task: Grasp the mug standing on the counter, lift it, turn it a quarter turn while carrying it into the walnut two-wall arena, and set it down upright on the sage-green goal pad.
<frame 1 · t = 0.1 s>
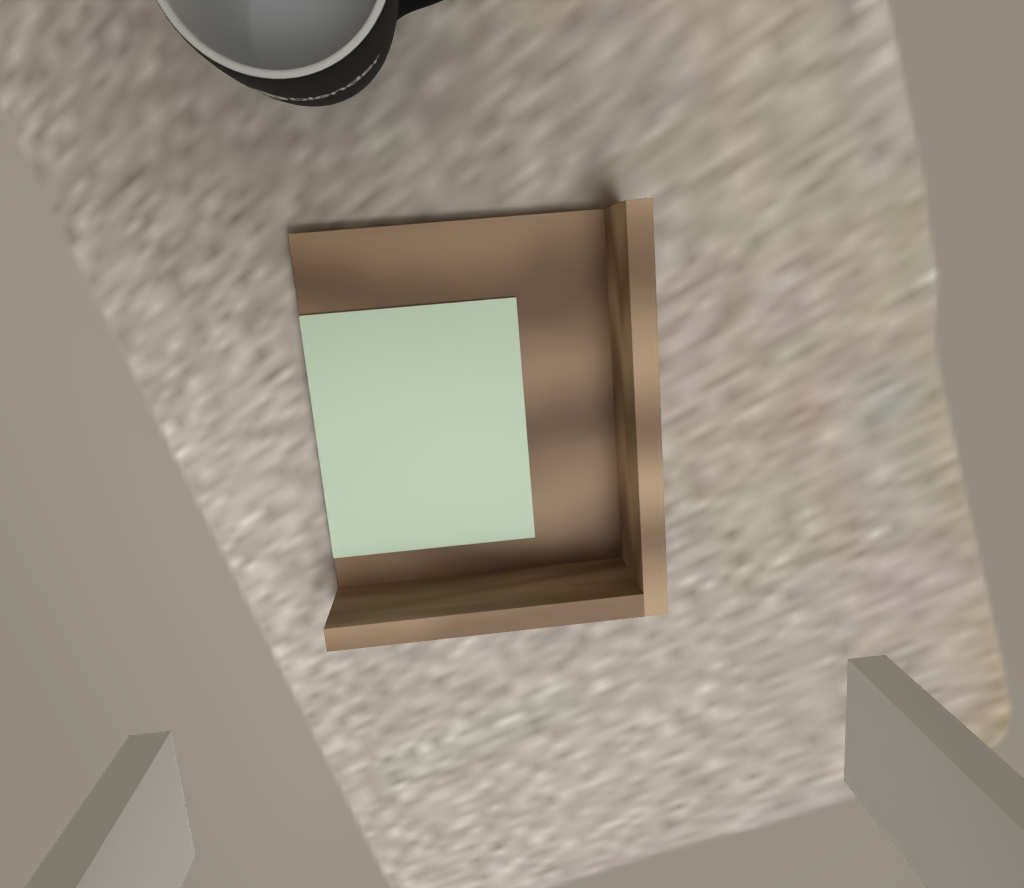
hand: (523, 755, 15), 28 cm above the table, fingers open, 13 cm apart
arena: (477, 412, 42), on the table
mug: (347, 25, 37), on the table
goal pad: (422, 430, 41), resting on arena
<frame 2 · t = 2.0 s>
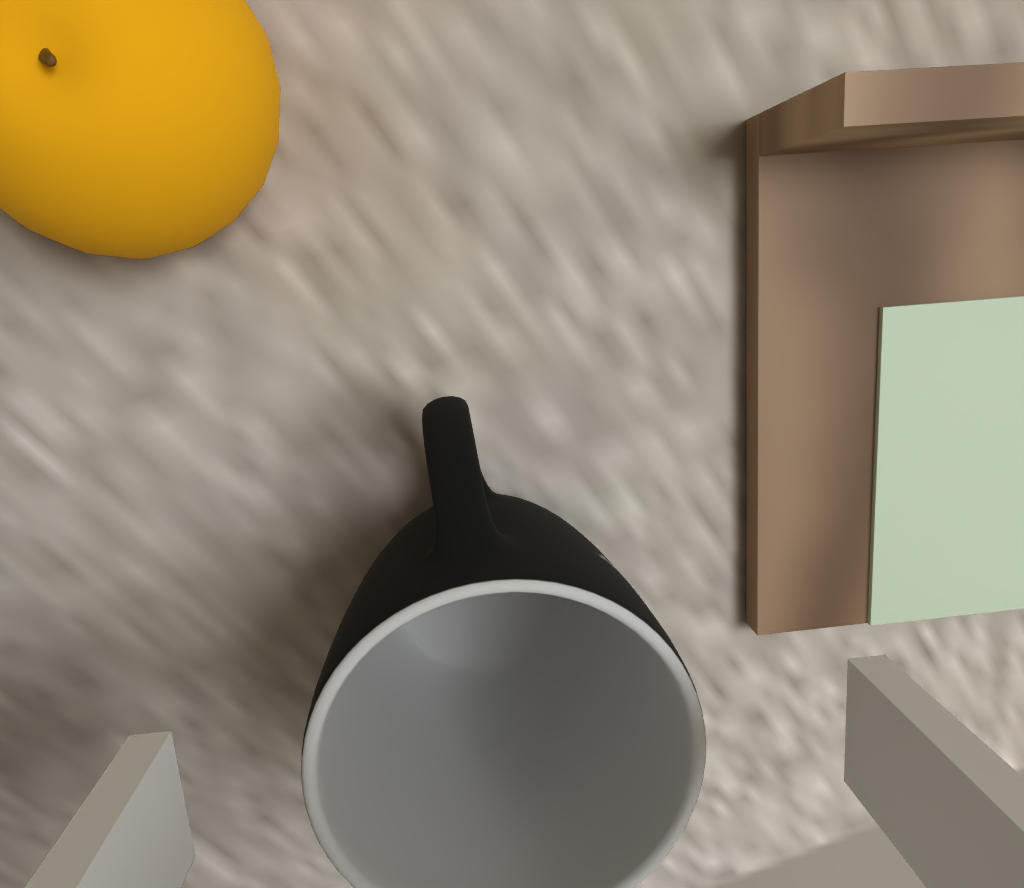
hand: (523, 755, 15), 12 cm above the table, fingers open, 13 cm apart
mug: (474, 541, 26), on the table
yellow orange fruit: (164, 119, 23), on the table
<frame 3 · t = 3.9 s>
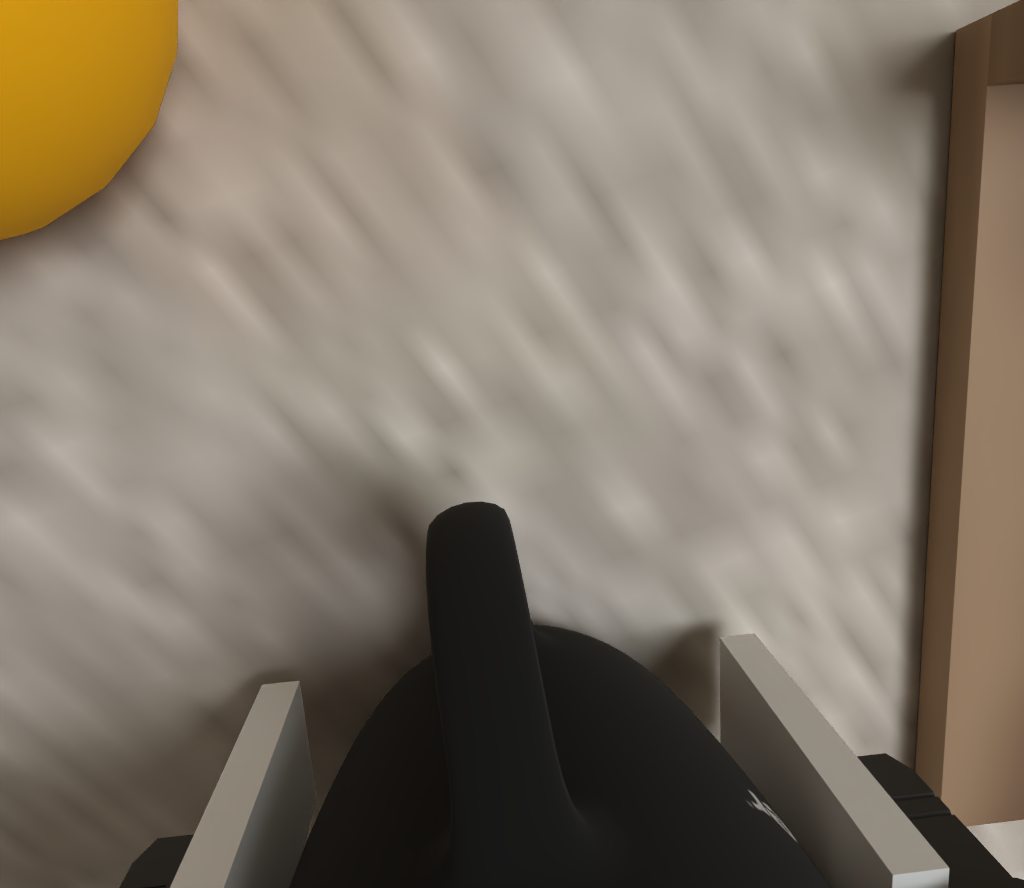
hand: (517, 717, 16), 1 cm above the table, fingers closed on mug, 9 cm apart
mug: (507, 687, 17), on the table, touching gripper
yellow orange fruit: (5, 26, 14), on the table
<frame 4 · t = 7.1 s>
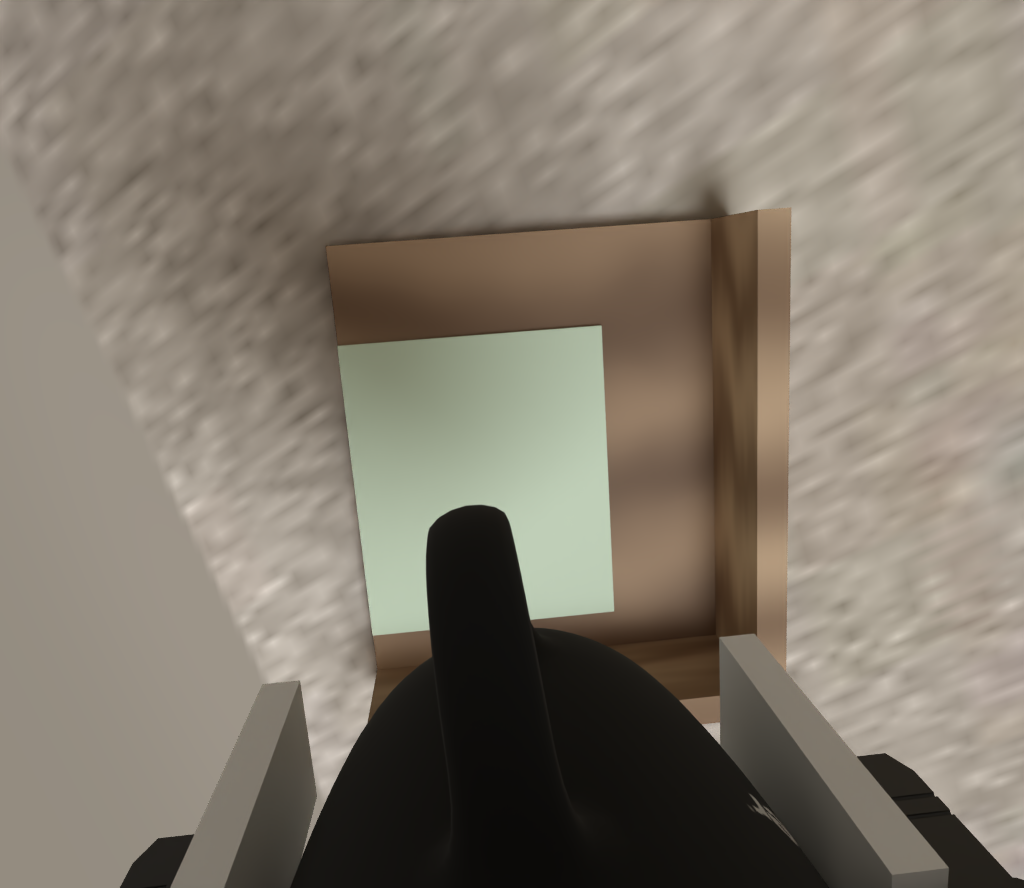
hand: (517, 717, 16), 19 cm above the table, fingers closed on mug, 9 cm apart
arena: (547, 462, 35), on the table
mug: (508, 690, 17), point 18 cm above the table, touching gripper
goal pad: (482, 484, 34), resting on arena
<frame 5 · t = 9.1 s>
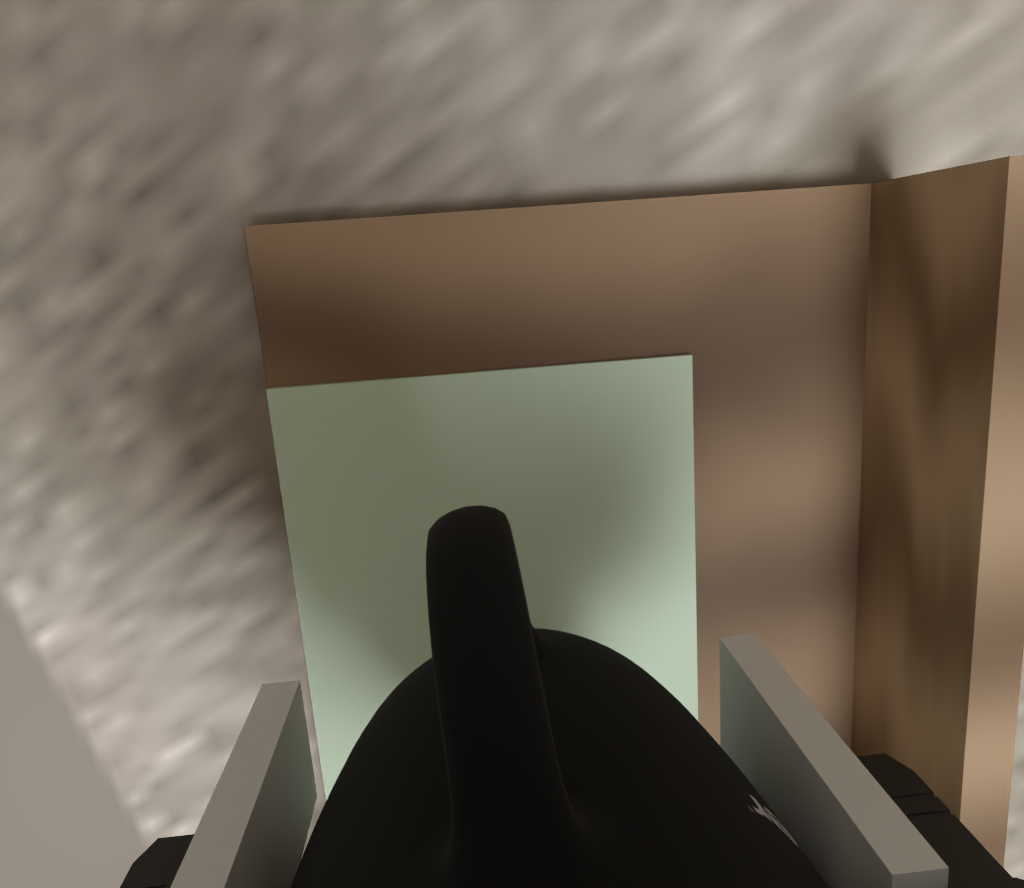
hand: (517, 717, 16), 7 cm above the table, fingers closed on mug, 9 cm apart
arena: (599, 561, 23), on the table
mug: (508, 690, 17), point 5 cm above the table, touching gripper
goal pad: (500, 601, 21), resting on arena
when the fingers open (4 cm above the table, at t = 10.7 s): mug drops 1 cm, resting on goal pad.
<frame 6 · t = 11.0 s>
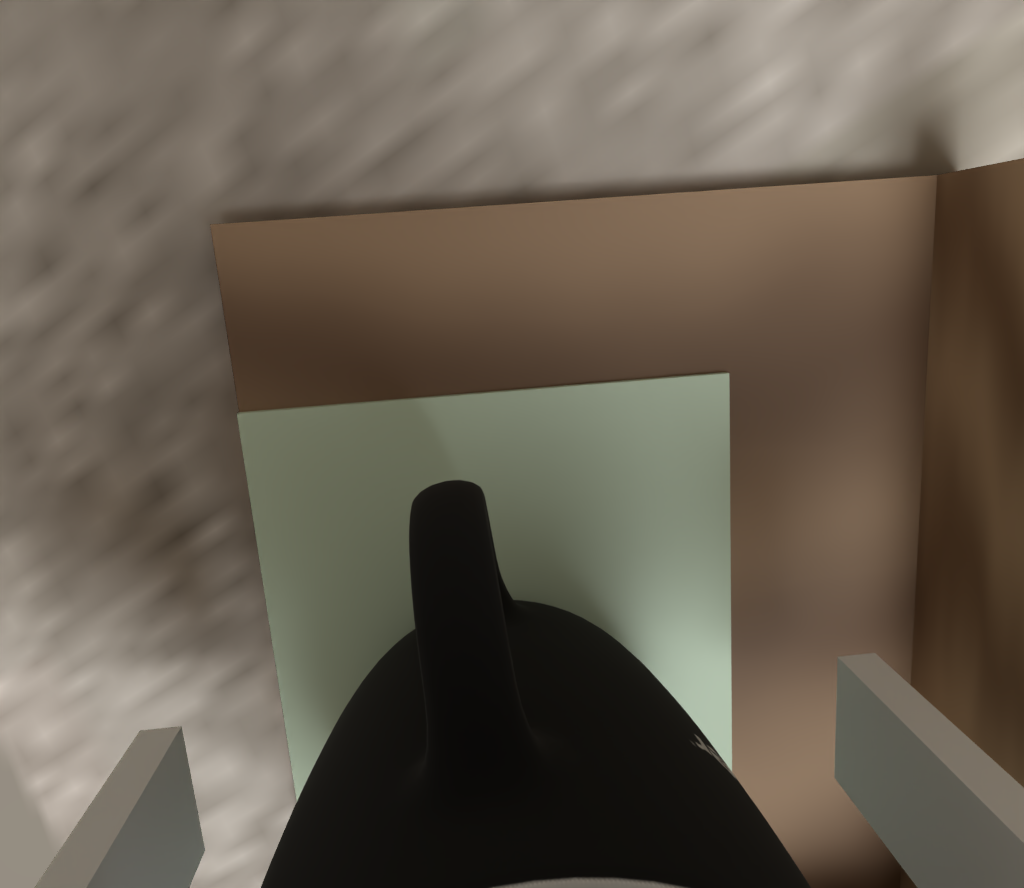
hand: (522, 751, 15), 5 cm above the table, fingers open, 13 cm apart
arena: (619, 605, 20), on the table
mug: (490, 659, 19), point 1 cm above the table, touching goal pad
goal pad: (508, 654, 19), resting on arena
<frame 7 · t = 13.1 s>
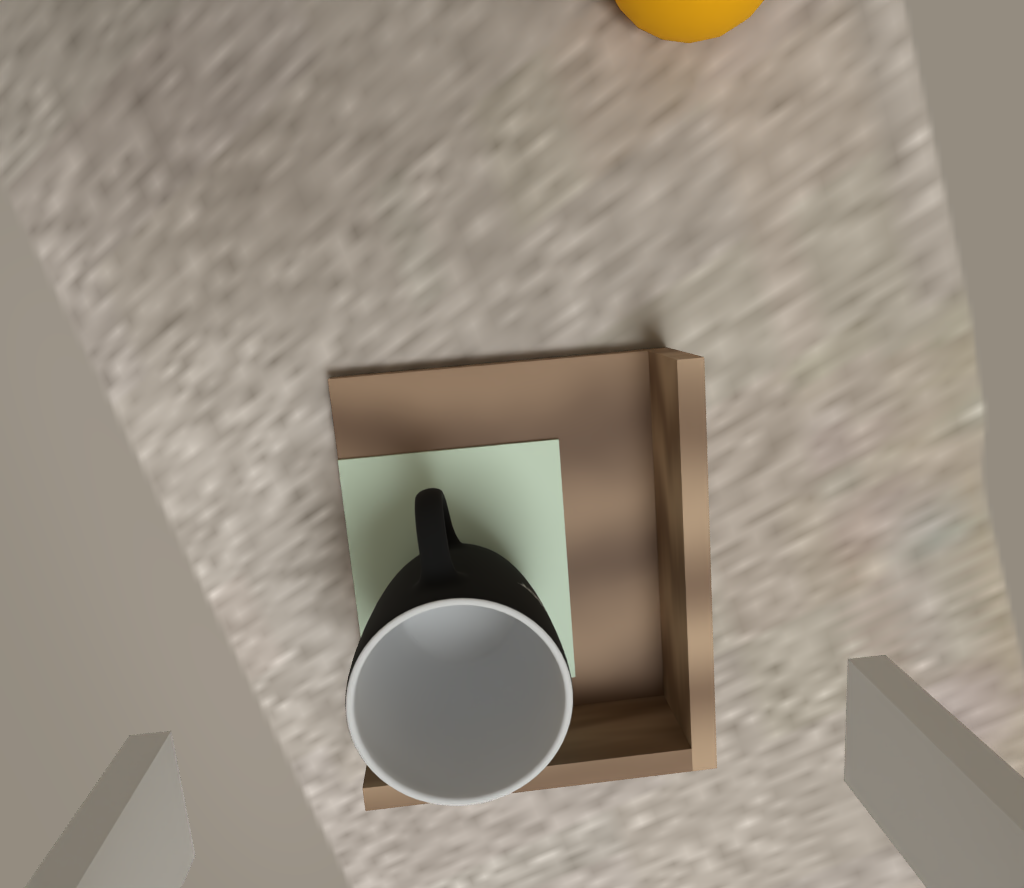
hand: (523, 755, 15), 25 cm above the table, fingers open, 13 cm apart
arena: (516, 550, 41), on the table
mug: (453, 574, 40), point 1 cm above the table, touching goal pad
goal pad: (461, 571, 40), resting on arena
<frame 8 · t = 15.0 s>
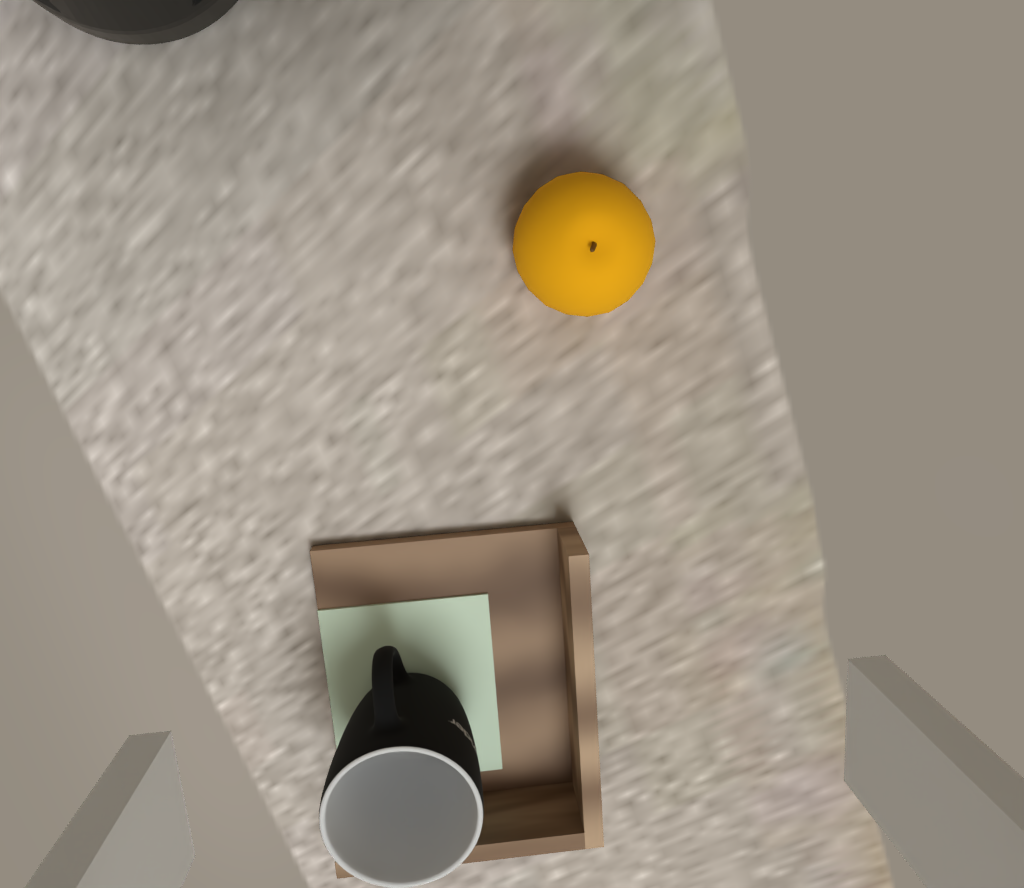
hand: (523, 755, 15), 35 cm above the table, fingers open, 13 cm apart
arena: (457, 672, 52), on the table
mug: (406, 692, 51), point 1 cm above the table, touching goal pad
goal pad: (413, 691, 51), resting on arena
yellow orange fruit: (573, 247, 47), on the table
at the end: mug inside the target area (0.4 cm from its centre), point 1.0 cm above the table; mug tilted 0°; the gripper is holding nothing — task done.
